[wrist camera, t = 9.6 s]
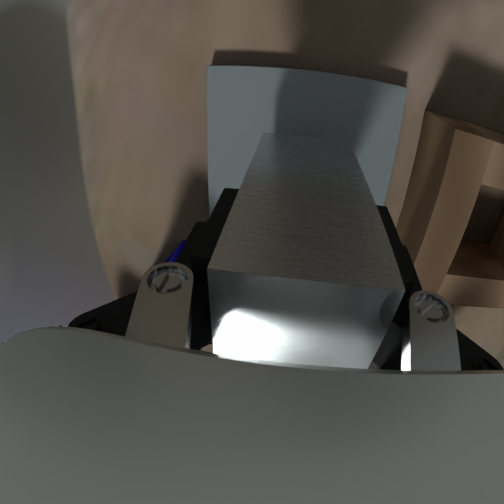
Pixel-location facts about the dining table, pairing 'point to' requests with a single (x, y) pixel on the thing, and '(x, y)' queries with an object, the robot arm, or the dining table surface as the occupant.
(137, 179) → the dining table surface
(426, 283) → the wooden block with hole
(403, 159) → the dining table surface
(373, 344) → the steel bar
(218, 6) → the dining table surface
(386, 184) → the rubber mat
